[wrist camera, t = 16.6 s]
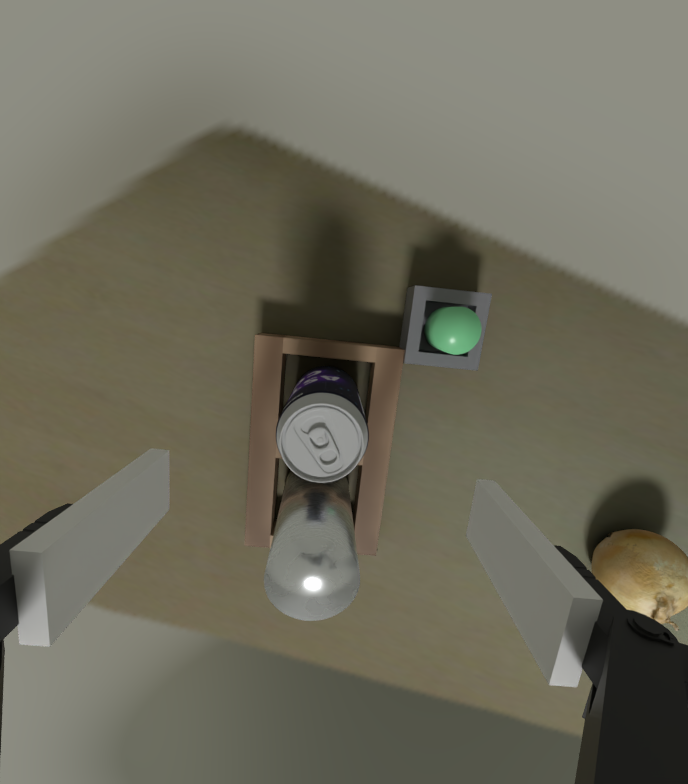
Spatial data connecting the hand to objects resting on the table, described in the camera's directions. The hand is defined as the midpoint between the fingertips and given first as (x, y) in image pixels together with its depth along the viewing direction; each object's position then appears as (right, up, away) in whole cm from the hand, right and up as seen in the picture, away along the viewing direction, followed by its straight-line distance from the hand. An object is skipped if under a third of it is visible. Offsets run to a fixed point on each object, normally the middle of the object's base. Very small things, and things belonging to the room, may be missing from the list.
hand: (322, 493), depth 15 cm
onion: (+29, -12, +22) cm, 38 cm away
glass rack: (-1, 0, +18) cm, 18 cm away
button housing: (+9, +10, +16) cm, 21 cm away
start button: (+9, +9, +13) cm, 19 cm away
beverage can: (-1, +4, +17) cm, 18 cm away
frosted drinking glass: (-2, -5, +19) cm, 20 cm away
